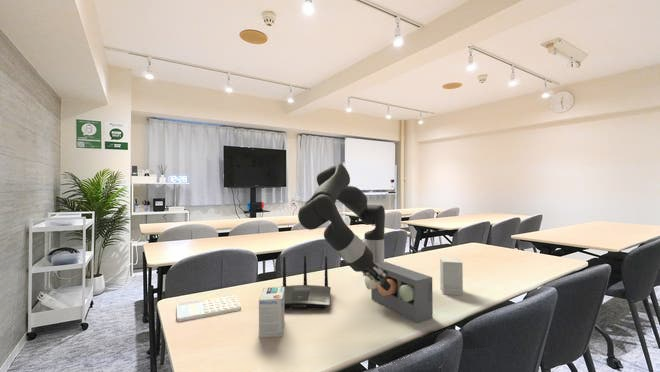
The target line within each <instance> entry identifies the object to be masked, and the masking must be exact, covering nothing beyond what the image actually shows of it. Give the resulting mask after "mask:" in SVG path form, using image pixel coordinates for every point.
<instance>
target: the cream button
mask: <svg viewBox="0 0 660 372" xmlns="http://www.w3.org/2000/svg"><path fill="white" fill-rule="evenodd" d="M364 283H365V286H366V288H367V289H368V290H371V289H375V288H378V283H376V282H375V281H374V280H371V279H370V278H369V277H367V276H366V275H365V277H364Z"/></svg>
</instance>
